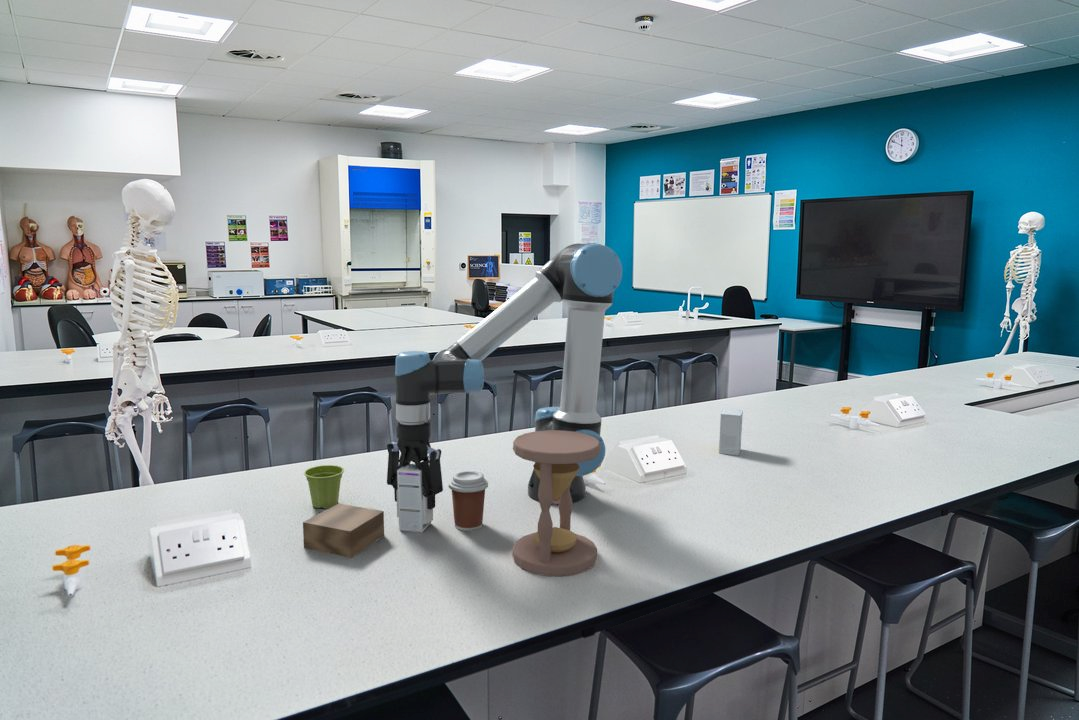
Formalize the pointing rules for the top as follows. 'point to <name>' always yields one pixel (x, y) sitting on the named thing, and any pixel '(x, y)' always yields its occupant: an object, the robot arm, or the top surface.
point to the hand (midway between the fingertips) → (415, 518)
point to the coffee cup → (468, 499)
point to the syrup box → (410, 498)
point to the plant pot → (324, 485)
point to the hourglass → (556, 470)
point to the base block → (343, 530)
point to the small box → (730, 431)
